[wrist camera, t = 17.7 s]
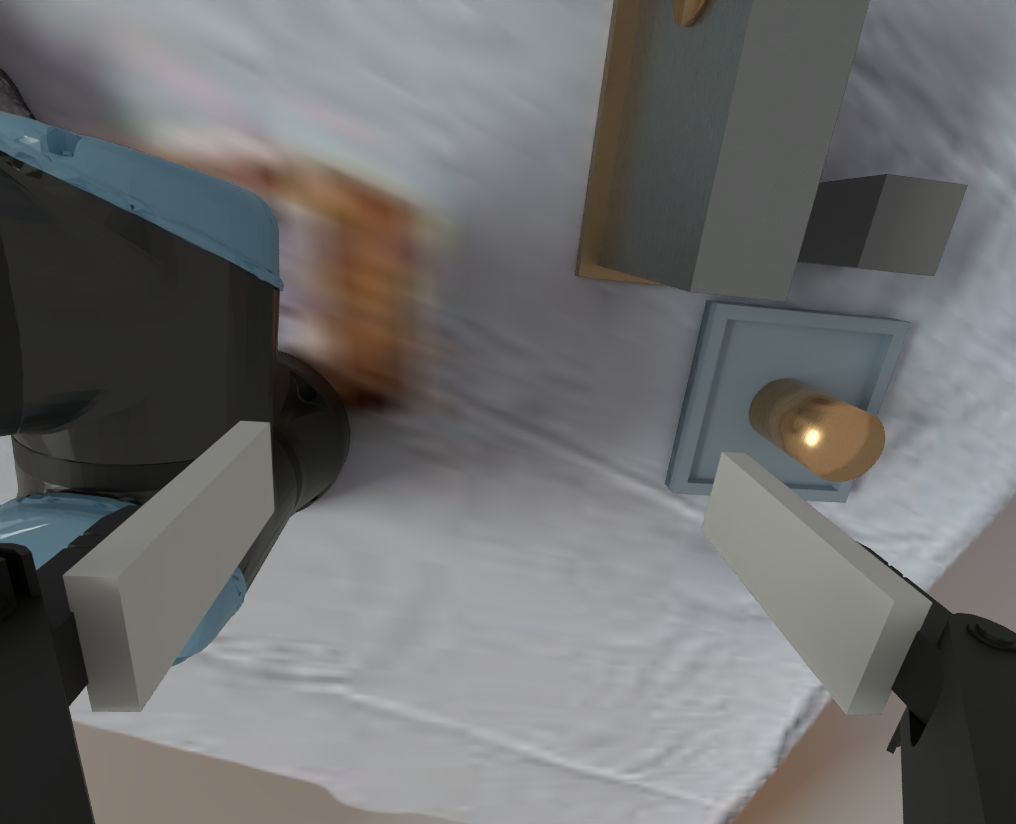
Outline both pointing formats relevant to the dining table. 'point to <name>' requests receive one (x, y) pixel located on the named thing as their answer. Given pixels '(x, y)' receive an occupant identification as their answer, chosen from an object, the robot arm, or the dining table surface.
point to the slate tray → (762, 359)
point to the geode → (12, 98)
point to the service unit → (713, 140)
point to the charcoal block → (881, 223)
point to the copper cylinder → (817, 429)
